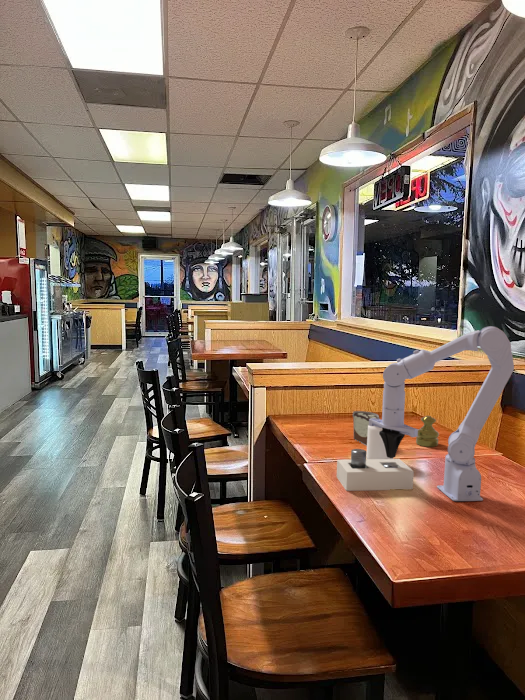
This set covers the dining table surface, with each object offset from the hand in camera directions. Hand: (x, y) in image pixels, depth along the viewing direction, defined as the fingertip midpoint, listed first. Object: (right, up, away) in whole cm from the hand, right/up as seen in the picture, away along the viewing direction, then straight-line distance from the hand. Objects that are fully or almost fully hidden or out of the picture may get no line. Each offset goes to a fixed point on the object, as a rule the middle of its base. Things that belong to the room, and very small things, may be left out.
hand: (391, 456), depth 136 cm
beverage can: (+1, -6, +19) cm, 20 cm away
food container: (+2, -3, +39) cm, 39 cm away
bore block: (-5, -7, 0) cm, 9 cm away
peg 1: (-9, -3, -1) cm, 9 cm away
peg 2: (0, -7, +1) cm, 7 cm away
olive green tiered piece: (+22, -4, +38) cm, 45 cm away
